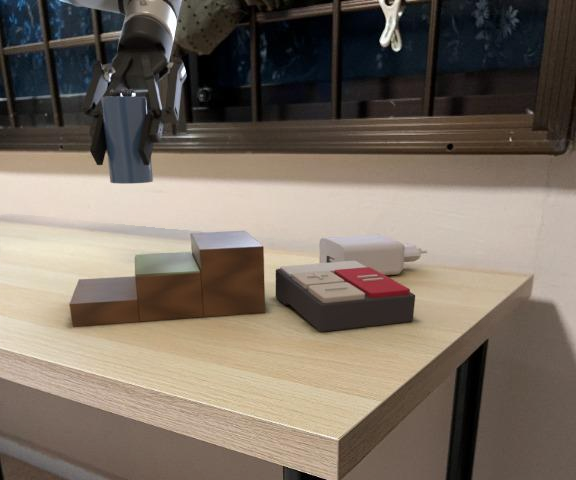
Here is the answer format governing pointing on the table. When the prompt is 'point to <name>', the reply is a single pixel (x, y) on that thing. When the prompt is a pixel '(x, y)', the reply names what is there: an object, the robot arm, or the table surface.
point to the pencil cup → (125, 137)
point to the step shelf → (179, 284)
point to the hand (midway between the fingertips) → (119, 157)
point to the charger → (369, 252)
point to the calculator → (343, 295)
